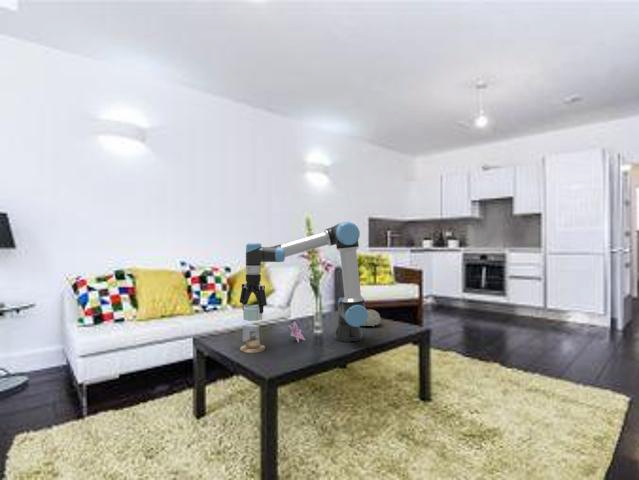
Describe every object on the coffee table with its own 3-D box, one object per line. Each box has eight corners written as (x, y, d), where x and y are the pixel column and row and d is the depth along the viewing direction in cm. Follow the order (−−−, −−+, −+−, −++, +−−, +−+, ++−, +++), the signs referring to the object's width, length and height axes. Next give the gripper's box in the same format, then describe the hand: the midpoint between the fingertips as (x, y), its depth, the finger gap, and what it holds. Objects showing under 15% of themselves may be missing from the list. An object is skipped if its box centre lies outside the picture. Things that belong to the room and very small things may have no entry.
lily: (287, 346, 194) (295, 331, 193) (277, 333, 203) (285, 319, 202) (303, 349, 202) (312, 334, 201) (293, 336, 211) (301, 322, 210)
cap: (265, 318, 187) (265, 306, 187) (253, 321, 180) (253, 309, 180) (252, 316, 192) (252, 304, 192) (239, 319, 185) (240, 307, 185)
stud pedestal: (269, 348, 187) (269, 330, 187) (253, 354, 177) (253, 335, 177) (252, 344, 194) (252, 327, 194) (235, 350, 184) (235, 332, 184)
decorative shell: (353, 328, 231) (353, 312, 231) (352, 322, 248) (352, 307, 248) (382, 328, 230) (382, 312, 230) (378, 322, 248) (378, 307, 248)
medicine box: (259, 341, 201) (259, 325, 201) (255, 343, 197) (255, 326, 197) (246, 339, 203) (246, 324, 203) (242, 342, 199) (242, 325, 199)
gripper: (232, 273, 189) (232, 317, 189) (264, 275, 177) (263, 322, 177) (243, 272, 195) (242, 314, 195) (274, 274, 183) (274, 319, 183)
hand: (252, 318), depth 186 cm, fingers closed on cap, 9 cm apart
